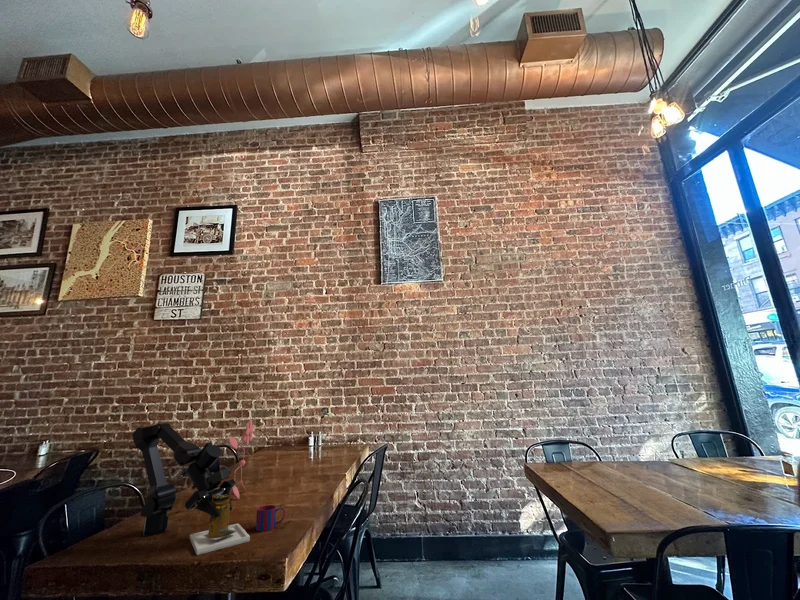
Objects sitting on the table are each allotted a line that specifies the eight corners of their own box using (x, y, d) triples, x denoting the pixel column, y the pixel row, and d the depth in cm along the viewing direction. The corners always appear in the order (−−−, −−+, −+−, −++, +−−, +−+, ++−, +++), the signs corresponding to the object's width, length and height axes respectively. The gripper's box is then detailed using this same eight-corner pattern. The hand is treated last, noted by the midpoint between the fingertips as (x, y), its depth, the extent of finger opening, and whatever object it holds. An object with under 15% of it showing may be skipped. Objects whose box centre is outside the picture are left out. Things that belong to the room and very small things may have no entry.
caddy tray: (196, 555, 110) (197, 549, 111) (189, 539, 123) (190, 534, 123) (249, 541, 120) (250, 536, 120) (238, 527, 132) (238, 523, 132)
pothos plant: (217, 504, 159) (226, 422, 168) (238, 489, 184) (245, 417, 192) (252, 504, 160) (260, 421, 169) (269, 488, 185) (274, 417, 193)
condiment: (202, 536, 121) (206, 497, 124) (225, 528, 128) (229, 491, 131) (215, 540, 117) (219, 500, 120) (238, 532, 124) (241, 494, 127)
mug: (258, 525, 134) (259, 505, 135) (285, 523, 135) (286, 503, 136) (253, 532, 127) (254, 511, 129) (282, 530, 128) (283, 509, 130)
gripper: (196, 466, 119) (221, 504, 114) (233, 455, 137) (257, 488, 132) (173, 490, 119) (197, 530, 114) (213, 477, 137) (236, 510, 132)
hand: (224, 513), depth 123 cm, fingers closed on condiment, 6 cm apart
